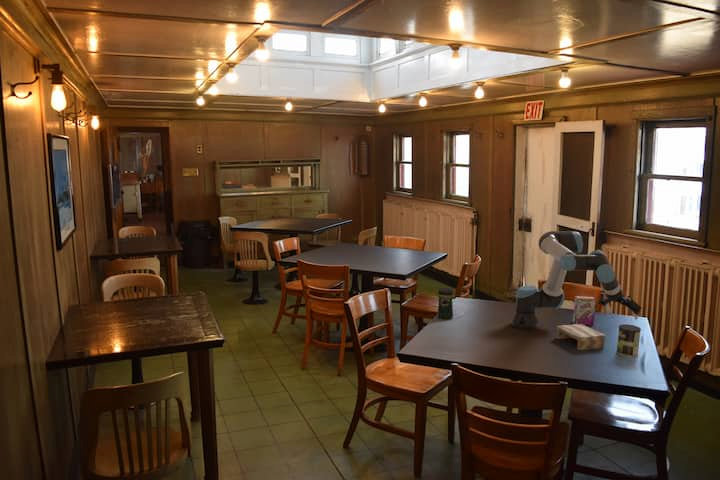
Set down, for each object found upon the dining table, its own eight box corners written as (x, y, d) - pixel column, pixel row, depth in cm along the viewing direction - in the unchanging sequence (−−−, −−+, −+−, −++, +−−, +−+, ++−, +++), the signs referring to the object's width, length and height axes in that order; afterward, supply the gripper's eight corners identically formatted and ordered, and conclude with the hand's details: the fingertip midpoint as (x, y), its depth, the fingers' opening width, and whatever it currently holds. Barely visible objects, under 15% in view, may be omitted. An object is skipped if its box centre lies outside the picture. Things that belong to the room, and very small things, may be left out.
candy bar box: (574, 324, 347) (576, 298, 344) (572, 322, 352) (574, 295, 349) (594, 325, 346) (596, 298, 343) (591, 323, 351) (593, 296, 348)
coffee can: (623, 357, 294) (625, 330, 292) (612, 350, 304) (615, 324, 302) (642, 357, 295) (645, 330, 293) (631, 349, 305) (633, 324, 303)
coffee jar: (453, 316, 359) (455, 287, 356) (452, 320, 351) (453, 290, 348) (438, 315, 361) (439, 286, 358) (436, 318, 354) (437, 289, 351)
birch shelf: (578, 350, 303) (579, 337, 302) (555, 337, 322) (556, 325, 321) (604, 347, 307) (605, 335, 306) (580, 335, 326) (581, 323, 325)
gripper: (584, 290, 283) (595, 315, 296) (636, 301, 265) (646, 326, 278) (590, 278, 286) (601, 303, 299) (642, 288, 268) (651, 313, 281)
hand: (623, 314), depth 288 cm, fingers open, 13 cm apart
